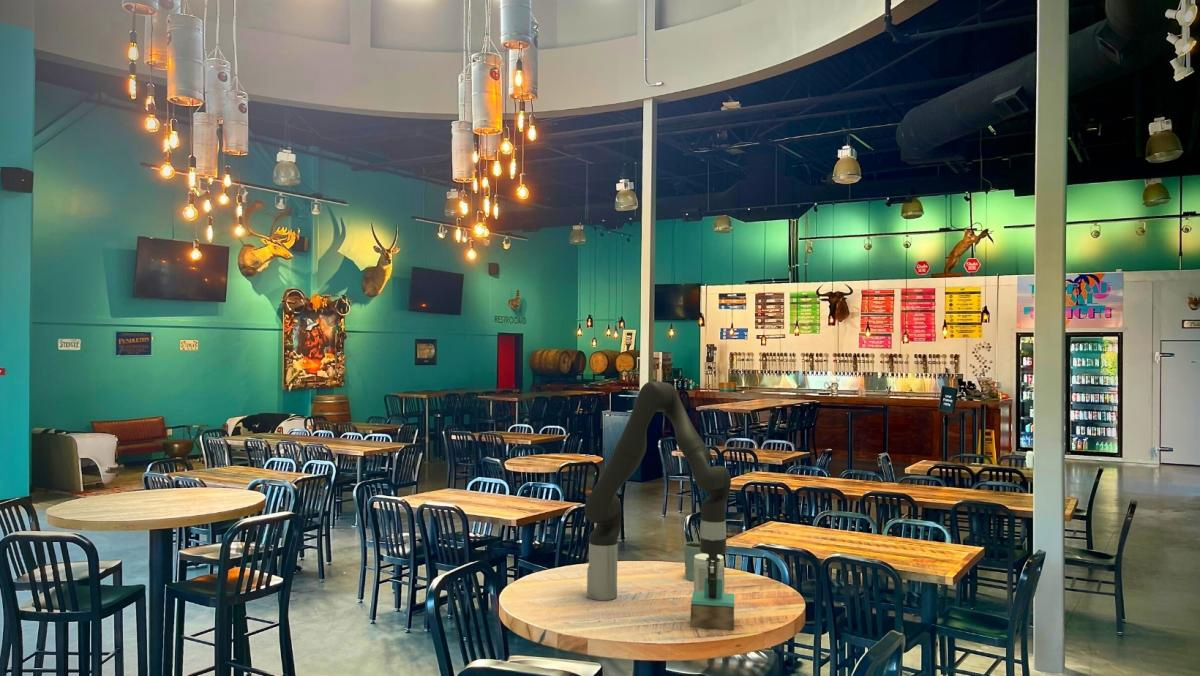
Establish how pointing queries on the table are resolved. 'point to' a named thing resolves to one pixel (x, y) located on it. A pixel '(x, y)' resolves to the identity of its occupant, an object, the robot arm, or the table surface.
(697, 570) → the supplement tub
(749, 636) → the table surface
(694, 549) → the grey green pot
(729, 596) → the lid
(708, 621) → the crate
